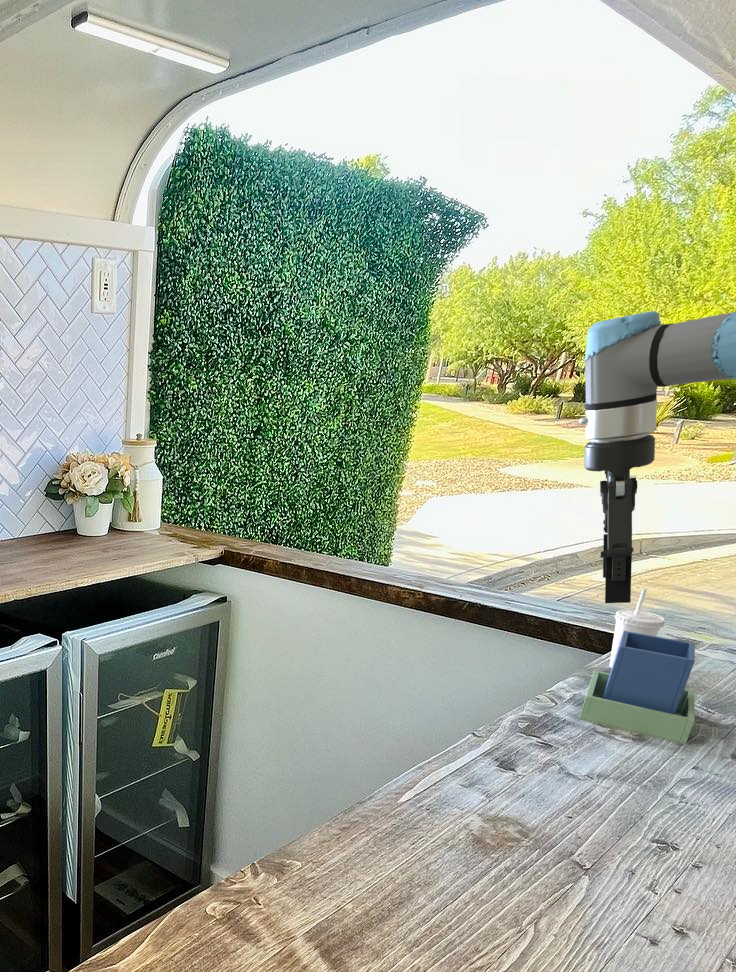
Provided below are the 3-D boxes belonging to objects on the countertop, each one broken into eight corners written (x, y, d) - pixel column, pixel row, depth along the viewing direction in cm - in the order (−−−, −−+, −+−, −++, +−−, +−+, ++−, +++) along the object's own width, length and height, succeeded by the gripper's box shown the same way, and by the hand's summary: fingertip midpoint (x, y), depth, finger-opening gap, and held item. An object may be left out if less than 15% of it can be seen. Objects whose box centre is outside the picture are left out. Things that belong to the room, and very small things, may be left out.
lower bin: (685, 716, 111) (694, 690, 109) (684, 747, 103) (694, 720, 101) (586, 694, 118) (594, 669, 116) (577, 722, 110) (586, 696, 108)
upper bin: (669, 713, 111) (694, 643, 106) (667, 734, 105) (694, 660, 101) (601, 698, 115) (623, 630, 111) (596, 717, 110) (619, 646, 105)
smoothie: (599, 660, 130) (623, 581, 125) (646, 668, 127) (673, 588, 121) (598, 672, 125) (624, 591, 120) (647, 682, 122) (676, 598, 117)
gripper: (584, 431, 115) (583, 568, 121) (584, 454, 96) (583, 615, 102) (649, 423, 110) (644, 565, 116) (662, 444, 92) (656, 613, 97)
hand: (615, 589), depth 109 cm, fingers open, 13 cm apart
